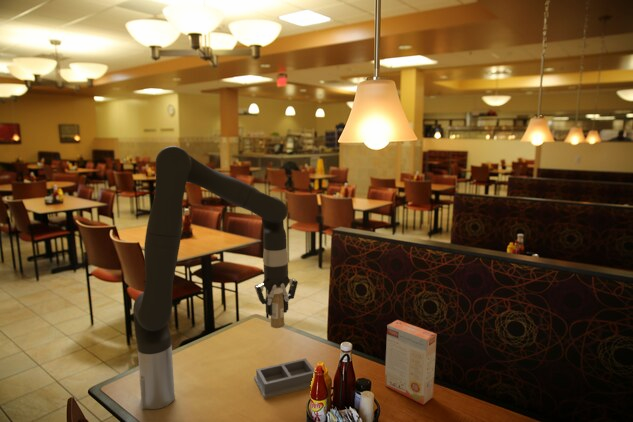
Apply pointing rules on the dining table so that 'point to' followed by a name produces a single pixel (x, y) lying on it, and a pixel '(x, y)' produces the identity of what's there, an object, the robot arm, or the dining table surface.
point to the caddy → (284, 378)
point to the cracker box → (410, 361)
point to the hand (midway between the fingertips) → (277, 312)
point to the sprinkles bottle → (277, 309)
